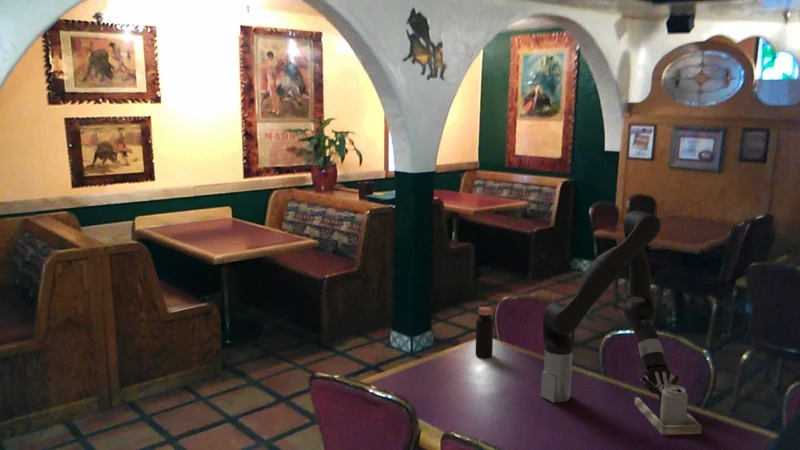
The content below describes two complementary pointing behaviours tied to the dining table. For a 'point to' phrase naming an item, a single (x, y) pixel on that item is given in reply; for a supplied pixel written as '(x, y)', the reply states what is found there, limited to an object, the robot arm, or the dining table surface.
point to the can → (673, 405)
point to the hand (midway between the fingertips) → (666, 405)
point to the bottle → (484, 333)
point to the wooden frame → (691, 428)
